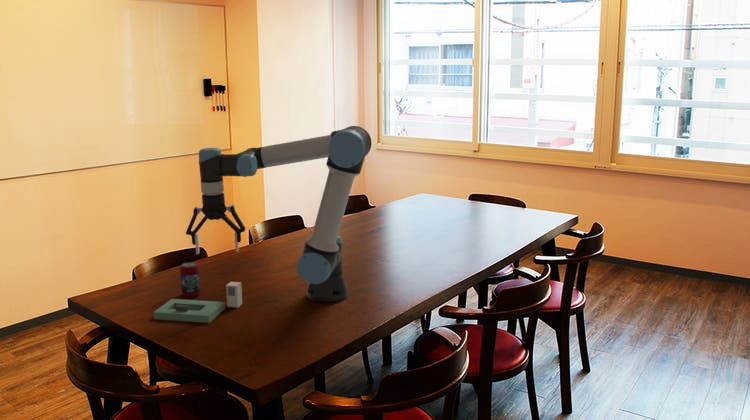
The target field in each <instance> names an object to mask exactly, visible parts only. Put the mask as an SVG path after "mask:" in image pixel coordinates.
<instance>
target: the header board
mask: <svg viewBox="0 0 750 420" xmlns="http://www.w3.org/2000/svg"><path fill="white" fill-rule="evenodd" d="M225 309H226V301H212V300H199V299H198V300H196V299H182V298H181V299H180V298H171V299H169V300H168V301H166V302H165V303H164V304H163V305H161V306H159V307H158V308H157V309H156V310H155V311H153V319H154V320H163V321H164V320H165V321H173V322H174V321H177V322H178V321H179V322H191V323H203V324H205V323H206V324H210V323H211V322H212V321H213V320H214V319H216V317H218V316H219V315H220V314H221V313H222V312H224V310H225Z"/></svg>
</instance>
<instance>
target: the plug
mask: <svg viewBox="0 0 750 420" xmlns="http://www.w3.org/2000/svg"><path fill="white" fill-rule="evenodd" d="M225 289H226V290H225V291H226V305H227V306H226V307H228V308H237V309H238V308H240V306H242V305H243V289H242V282H241V281H240V282H239V281H230V282H229V283H227V284H226V285H225Z"/></svg>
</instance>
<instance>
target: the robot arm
mask: <svg viewBox="0 0 750 420" xmlns="http://www.w3.org/2000/svg"><path fill="white" fill-rule="evenodd" d="M371 149H372V138H371V135H370V133H369V131H367V130H366V129H365V128H363V127H362V126H359V125H358V126H357V125H350V126H347V127H345V128H343V129H340V130H339V129H338V130H334V131H331V133H330V134H329V135H328V134H327V135H322V136H317V137H316V136H315V137H310V138H305V139H300V140H295V141H287V142H282V143H277V144H270V145H266V146H261V147H249V148H247V149H246V150H243V151H241V152H238V153H234V154H233V153H232V154H231V153H229V154H225V153H222V150H221V149H220V148H219V147H207V148H206V147H205V148H201V149H200V150H199V151H198V166H199V175H200V190H201V191H200V192H201V194H202V195H201V199H202V200H201V201H202V202H201V203H202V207H197V206H195V207H194V208H193V213H192V214H193V215H192V217H191V220H190V222H189V224H188V226H187V228H186V231H185V235H188V236H191V244H192V246H193V245H194V246H195V254H196V255H199V254H200V243H199V242H200V241H199V234H197V233H198V231H199V230H200V229H201V228H202V226H203V225H204V224H205V222H206V221H208V220H209V221H213V220H216V221H218V220H223V222H225V224H227V225H228V226H229V227H230V228H231V229H232V230H233V231H234V232H235V233H234V245H235V253H238V252H239V248H240V247H239V243H241V241H242V236H241V235H242V233H244V232H246V229H247V228H246V226H245V225H244V223H243V222H242V220H241V218H240V217H239V215H238V213H237V211H236V208H235V207H236V206H235V205H234V204H232V205H230V206H226V203H225V202H226V200H225V199H226V198H225V193H224V191H225V189H224V178H223V177H243V178H244V177H245V178H246V177H253V176H255V175H256V173H257V171H258V170H260V169H266V168H271V167H276V166H278V167H279V166H284V165H289V164H295V163H301V162H308V161H309V162H310V161H315V160H319V159H325V158H327V159H326V163H325V164H326V166H327V168H328V174H327V178H326V181H325V182H326V183H325V186H324V189H323V193H322V197H321V199H320V200H321V201H320V204H319V207H318V211H317V215H316V219H315V222H314V227H313V230H312V234H311V236H309V237H307V238H306V239H305V242H304V246H303V250H302V253H301V255H300V256H299V257H298V260H297V263H296V270H297V274H298V275H299V277H300V278H301V280H303V281H304V282H306V283H308V286H307V288H306V298H307V299H309V300H310V301H313V302H318V303H334V302H339V301H343V300H345V299H346V298H348V296H349V289H348V285H347V282H346V280H345V278H344V275H343V274H344V273H343V270H344V269H343V265H344V264H343V244H344V243H343V239H342V236H341V235H340V229H341V226H342V223H343V219H344V215H345V212H346V208H347V204H348V201H349V198H350V194H351V190H352V186H353V184H354V179H355V178H356V177H357V176H359V175H360V174H361V171H362V168H363V164H364V162H365V157H367V156H368V154H369V152H370V151H371ZM227 211H228V212H229V213H231V216H232V217H233V219H234V220H235V223H236V224H237V225H236V224H235V223H234V221H232V219H230V218H229V217H228V216H227V214H226V213H227ZM201 212H202V214H203V215H204V216H203V218H202V219H201V220H200V221H199V222H198V224H197V226H196V227H195V228H194V229H192V228H193V227H194V224H195V221H196V219H197V217H198V215H199V214H200V213H201Z"/></svg>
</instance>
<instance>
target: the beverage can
mask: <svg viewBox="0 0 750 420" xmlns="http://www.w3.org/2000/svg"><path fill="white" fill-rule="evenodd" d="M179 271H180V272H179V273H180V287H181V294H182V296H183V297H184V298H195V297H197V296H199V295H200V294H201V293H202V291H201V278H200V275H201V274H200V267H199V266H198V264H197V262H194V261H188V262H184V263H181V266H180V269H179Z"/></svg>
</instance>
